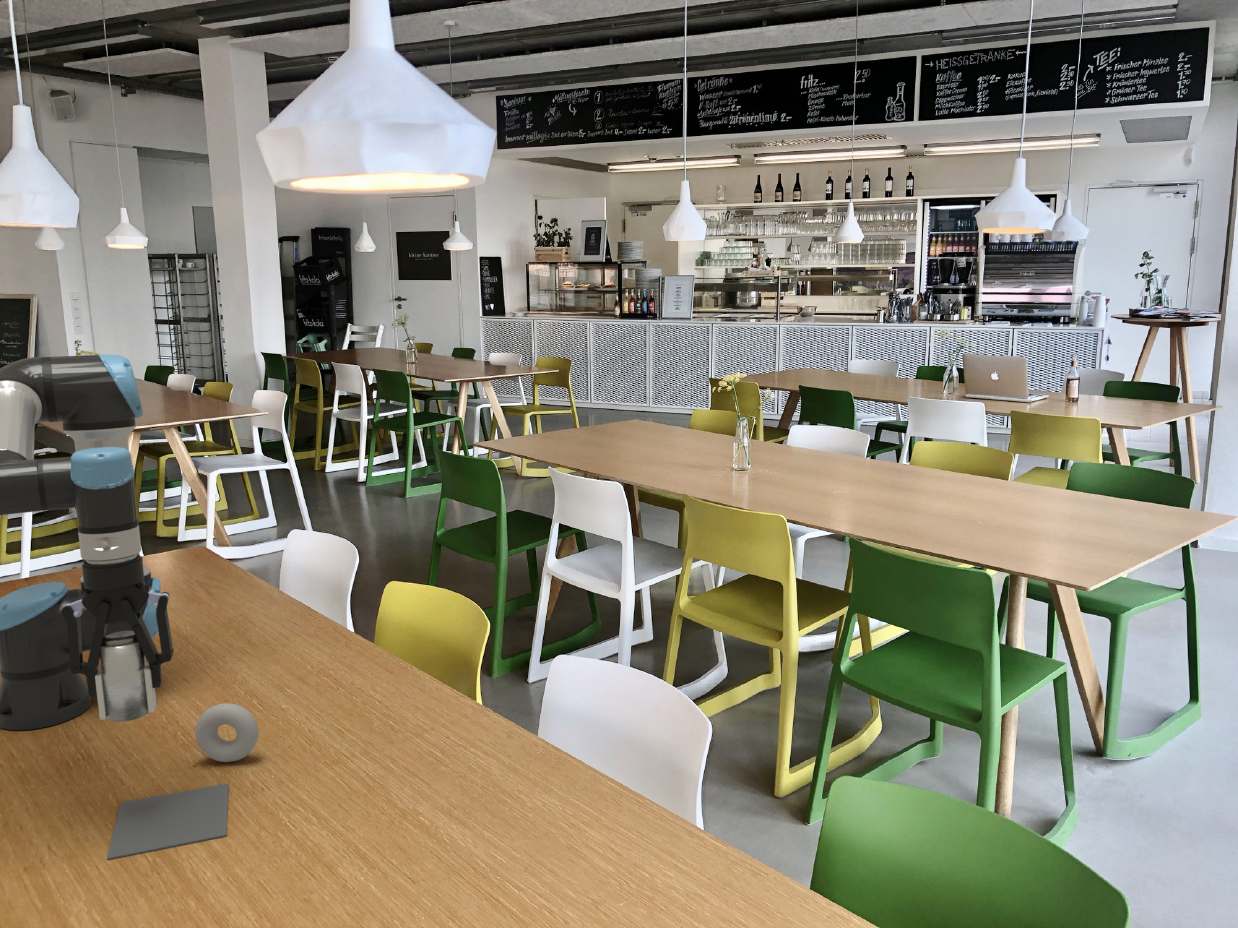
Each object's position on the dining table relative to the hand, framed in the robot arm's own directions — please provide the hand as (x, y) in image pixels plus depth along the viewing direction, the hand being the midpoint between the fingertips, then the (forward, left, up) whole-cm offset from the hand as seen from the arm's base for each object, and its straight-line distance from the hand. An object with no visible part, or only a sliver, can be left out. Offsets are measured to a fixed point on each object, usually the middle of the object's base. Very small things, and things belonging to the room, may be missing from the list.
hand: (128, 711), depth 134 cm
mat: (+4, +5, -16) cm, 17 cm away
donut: (-11, +12, -16) cm, 23 cm away
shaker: (0, 0, 0) cm, 0 cm away
